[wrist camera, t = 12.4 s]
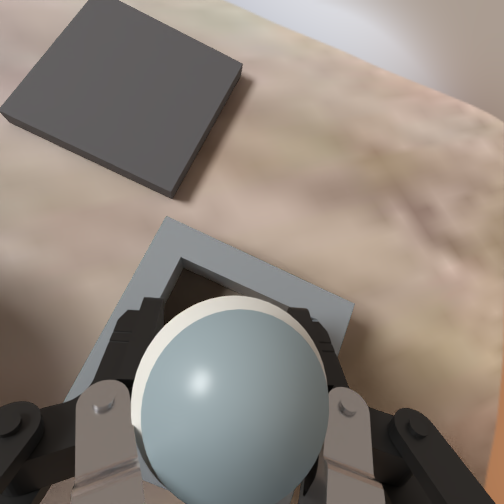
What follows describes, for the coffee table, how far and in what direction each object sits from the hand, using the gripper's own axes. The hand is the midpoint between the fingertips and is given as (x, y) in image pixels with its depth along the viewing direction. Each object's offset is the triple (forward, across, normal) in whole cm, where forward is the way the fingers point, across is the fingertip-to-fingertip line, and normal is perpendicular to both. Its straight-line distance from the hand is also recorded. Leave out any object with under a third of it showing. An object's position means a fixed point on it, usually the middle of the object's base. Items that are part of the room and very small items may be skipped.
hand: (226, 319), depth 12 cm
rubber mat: (+13, -6, +6) cm, 15 cm away
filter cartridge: (+2, 0, -5) cm, 5 cm away
